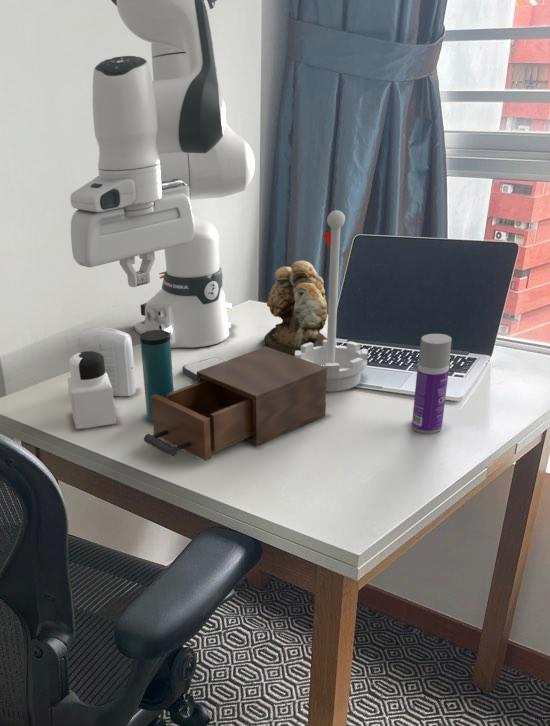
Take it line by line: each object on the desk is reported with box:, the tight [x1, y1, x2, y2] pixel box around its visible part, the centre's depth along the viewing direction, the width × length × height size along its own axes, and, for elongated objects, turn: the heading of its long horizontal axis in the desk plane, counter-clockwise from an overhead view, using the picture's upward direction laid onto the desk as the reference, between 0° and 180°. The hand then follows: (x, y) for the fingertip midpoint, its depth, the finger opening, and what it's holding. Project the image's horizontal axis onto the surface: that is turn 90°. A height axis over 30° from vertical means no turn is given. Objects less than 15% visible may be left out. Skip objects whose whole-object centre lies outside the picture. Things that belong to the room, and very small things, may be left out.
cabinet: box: [196, 345, 327, 447], centre depth 141 cm, size 16×15×9 cm
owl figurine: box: [263, 260, 328, 356], centre depth 166 cm, size 18×12×17 cm, turn 26°
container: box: [411, 333, 453, 435], centre depth 131 cm, size 5×5×15 cm
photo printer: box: [78, 327, 137, 397], centre depth 155 cm, size 10×4×12 cm, turn 69°
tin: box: [139, 330, 175, 423], centre depth 143 cm, size 5×5×15 cm
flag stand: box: [295, 209, 369, 392], centre depth 147 cm, size 13×13×30 cm
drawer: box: [143, 380, 253, 462], centre depth 135 cm, size 19×14×7 cm
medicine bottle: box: [67, 351, 117, 430], centre depth 145 cm, size 7×7×12 cm
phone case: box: [181, 356, 226, 382], centre depth 159 cm, size 9×2×16 cm
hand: (139, 284), depth 127 cm, fingers closed
